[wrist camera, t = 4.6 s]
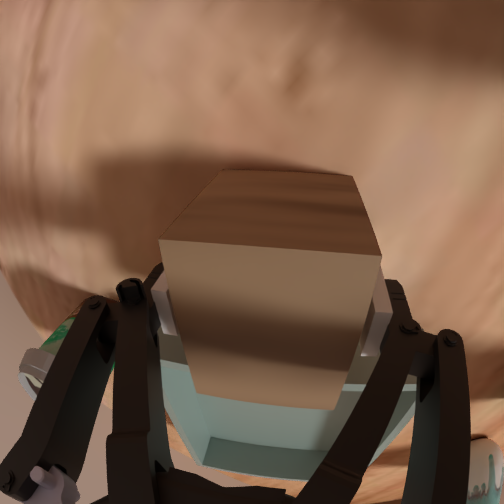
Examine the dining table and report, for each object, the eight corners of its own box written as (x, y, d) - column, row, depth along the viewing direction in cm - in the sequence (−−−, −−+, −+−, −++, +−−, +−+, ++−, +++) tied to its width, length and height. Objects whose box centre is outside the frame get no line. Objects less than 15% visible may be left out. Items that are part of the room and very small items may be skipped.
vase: (488, 448, 31) (496, 531, 16) (430, 466, 35) (431, 553, 20) (507, 422, 26) (522, 522, 11) (440, 444, 30) (444, 552, 15)
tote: (166, 306, 23) (139, 354, 18) (423, 329, 19) (437, 382, 15) (207, 434, 35) (197, 465, 31) (353, 449, 32) (351, 482, 27)
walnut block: (223, 169, 16) (157, 239, 10) (352, 175, 15) (381, 256, 8) (231, 297, 21) (196, 393, 14) (333, 306, 20) (333, 410, 13)
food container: (94, 259, 22) (16, 347, 13) (151, 310, 23) (92, 410, 15) (60, 318, 28) (10, 383, 19) (101, 354, 29) (59, 423, 21)
